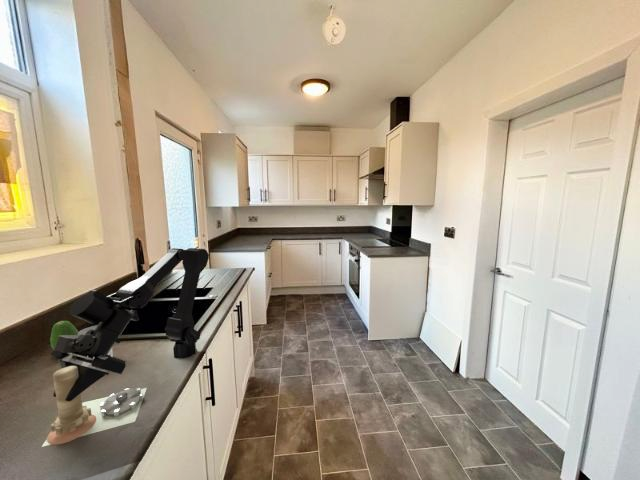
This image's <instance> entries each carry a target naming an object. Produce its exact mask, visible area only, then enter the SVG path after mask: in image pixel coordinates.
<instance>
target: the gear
mask: <svg viewBox="0 0 640 480" xmlns="http://www.w3.org/2000/svg"><path fill="white" fill-rule="evenodd" d="M141 389H142V388H140V387H137V388H129V387H128V388H124V389H123V390H120V391H118V392H116V393H112V394H110V395H108V397H109V398H108V399H107V400H106V401H105V402H103V403H101V405H100V410H101V414H102V417H104V418H105V417H106V416H110V417H111V416H114V417H119V416H120V415H121V414H124V413H126V412H128V411H130V410H131V411H132V410H134V409H135V408H136V406H137V405H138V403H139V402H140V401H142V400H144V398H143V393H142V394H141ZM142 402H143V401H142Z"/></svg>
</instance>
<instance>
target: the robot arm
mask: <svg viewBox="0 0 640 480" xmlns="http://www.w3.org/2000/svg"><path fill="white" fill-rule="evenodd" d="M209 259H210V254H209V253H208V251H207V250H206V249H205V248H193V247H188V248H187V249H183V248H170V249H168V251H167V253H166V254H165V255H163V256H162V257H161V258H160V259H159V260H158V261H157V262H156V263H155V264H153V266H151V268H149V269H148V270H147V271H146V272H145V273H144V274H143V275H141V276H140V277H138V278H137V279H135V280H132V281H130V282H128V283H126V284H125V285H123V286H121V287H120V288H119V289H118V290H117V291H116V292H114V293H111V294H109V295H107V296H106V295H105V294H103V293H102V292H100V291H99V290H95V289H90V290H89V292H88V293H86V294H83V295H81V297H79V298H78V299H76V300H75V301H73V303H72V304H71V306H70V307H69V312H68V313H69V315H70V316H73V317H75V318H77V319H80V320H82V321H84V322H87V323H89V324H91V325H98V326H97V327H96V329H95V330H89V331H87V333H86V334H85V335H84V334H81V335H60V336H59V337H58V340H57V343H56V345H55V348H54V350H53V349H52V351H51V353H50V356H53V357H58V360H57V362H58V363H59V364H60V366H61V369H62V368H65V367H69V366H77V367H78V375H79V377H78V379H77V380H76V382H75V384H74V385H73V387H72V389H71V390H70V392H69V394H68V395H67V397H66V399H65V401H72V400H73V399H74V398H75V397H77V396H78V395H79V394H80V393H81V394H82V393H83V392H84V391H86V390H87V389H89V387H91V386H92V385H94V384H95V383H96V382H98V381H100V380H101V379H102V378H103V377H105V376H108V375H110V372H111V373H114V374H115V373H116V374H119V375H122V374H123V372H124V371H125V369H126V367H127V363H126V360H122V359H120V358H117V357H114V356H113V357H111V356H110V355H107V354H108V353H109V351H110V350H111V348H112V349H113V346H115V344H120V343H121V342H122V339H121V338H120V336H121V335H122V333H123V332H124V331H125V329H126V327H127V325H128V324H129V323H130V321H135V322H138V321H140V318H139V317H140V316H139V315H138V310H133V309H142V308H144V307H145V306H146V305H147V304H148V302H149V301H150V300H151V298H152V297H153V296H154V294H155V289H156V287H157V286H158V285H159V284H160V283H161V282H162V281H163V280H164V279H165V278H166V277H167V276H168V275H169V274H170V273H171V272H172V271H173V270H174V269H175V268H176V267H177V266H178V265H179V264H180V263H181V262H182V267H183V270H184V275H183V280H182V282H181V283H182V284H181V289H180V294H179V297H178V302H177V305H176V310H175V311H176V312H175V313H174V314H173V315H172V317H168V318H166V319H167V320H166V326H165V327H164V331H165V336H166V337H167V339H169V340H170V342H175V343H174V345H173V348H172V349H173V358H174V359H187V358H190V357H191V356H193V355H196V354H197V352H198V349H197V342H198V341H199V340H200V339H201V338H200V337H201V332H200V331H198V330H196V329H195V320H194V319H195V318H194V316H193V314H192V313H193V308H194V305H195V298H196V294H197V290H198V285H199V279H200V277H201V276H200V275H201V273H202V272H203V270H204V269H206V267H207V264H208V261H209ZM117 307H119V308H117ZM126 308H131V310H129V309H126ZM87 356H88V357H87ZM94 357H95V358H94ZM60 358H61V359H60ZM93 358H94V359H93ZM83 362H87V363H91V364H89V366H88V367H86V366H82V364H83ZM52 396H53V397H54V398H56V393H55V391H54V392H53V395H52Z"/></svg>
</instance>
